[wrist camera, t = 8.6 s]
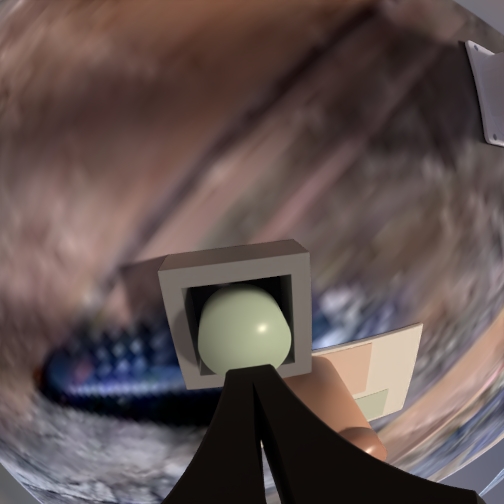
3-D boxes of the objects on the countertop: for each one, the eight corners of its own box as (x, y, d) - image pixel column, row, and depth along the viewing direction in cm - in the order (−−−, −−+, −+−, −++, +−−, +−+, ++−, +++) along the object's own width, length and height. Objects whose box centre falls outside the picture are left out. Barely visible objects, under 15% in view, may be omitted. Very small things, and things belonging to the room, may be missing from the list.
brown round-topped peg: (335, 349, 15) (393, 436, 8) (334, 390, 16) (379, 474, 9) (279, 362, 15) (314, 462, 8) (282, 402, 16) (312, 495, 9)
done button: (278, 278, 12) (289, 296, 10) (282, 348, 13) (292, 373, 11) (193, 289, 12) (190, 309, 10) (207, 358, 13) (207, 385, 11)
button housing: (293, 239, 14) (309, 252, 11) (298, 345, 15) (311, 372, 13) (167, 254, 13) (157, 271, 11) (190, 360, 15) (187, 389, 12)
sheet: (420, 322, 16) (423, 324, 16) (400, 406, 18) (402, 409, 18) (236, 362, 15) (237, 367, 15) (251, 445, 17) (251, 449, 17)
